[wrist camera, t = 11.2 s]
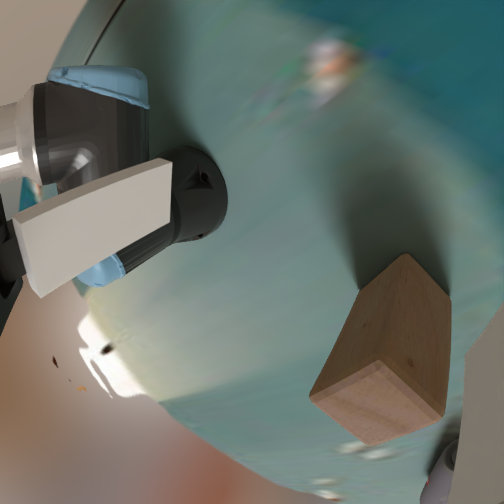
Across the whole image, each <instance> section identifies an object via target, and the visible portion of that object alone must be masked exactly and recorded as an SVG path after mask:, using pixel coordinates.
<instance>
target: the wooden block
mask: <svg viewBox="0 0 504 504" xmlns="http://www.w3.org/2000/svg"><path fill="white" fill-rule="evenodd" d="M450 352H451V300H450V297H449V296H448V295H447V294H446V293H445V292H444V291H443V289H442V288H441V287H440V286H439V285H438V284H437V283H436V282H435V281H434V280H433V279H432V278H431V276H430V275H429V274H428V273H427V272H426V271H425V270H424V269H423V268H422V267H421V266H420V265H419V264H418V263H417V262H416V261H415V260H414V259H413V258H412V257H411V256H410V255H409V254H407V253H405V254H403V255H400V256H399V257H398V258H397V259H396V260H395V261H394V262H392V263H391V264H390V265H389V266H388V267H387V268H386V269H385V270H383V271H382V272H381V273H380V274H379V275H378V276H377V277H375V278H374V279H373V280H372V281H371V282H370V283H369V284H367V285H366V286H365V287H364V288H363V289H361V290H360V291H359V293H358V295H357V297H356V300H355V302H354V304H353V306H352V309H351V311H350V313H349V315H348V317H347V320H346V322H345V324H344V326H343V328H342V330H341V332H340V335H339V337H338V339H337V341H336V343H335V345H334V347H333V349H332V351H331V353H330V355H329V357H328V359H327V361H326V363H325V365H324V367H323V369H322V371H321V373H320V375H319V376H318V378H317V380H316V382H315V384H314V386H313V388H312V390H311V391H310V394H309V398H310V400H311V401H312V403H313V404H315V405H316V406H317V407H318V408H320V409H321V410H322V411H323V412H325V413H326V414H327V415H328V416H330V417H331V418H332V419H333V420H335V421H336V422H337V423H339V424H340V425H341V426H342V427H344V428H345V429H346V430H348V431H349V432H350V433H352V434H353V435H354V436H355V437H357V438H358V439H359V440H361V441H362V442H363V443H365V444H368V445H377V444H380V443H383V442H386V441H389V440H392V439H395V438H398V437H400V436H403V435H406V434H409V433H411V432H414V431H416V430H419V429H422V428H424V427H426V426H429V425H431V424H434V423H436V422H438V421H439V420H440V419H441V418H442V417H443V415H444V413H445V407H446V399H447V390H448V380H449V368H450Z"/></svg>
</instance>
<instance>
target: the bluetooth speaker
mask: <svg viewBox="0 0 504 504" xmlns="http://www.w3.org/2000/svg"><path fill="white" fill-rule="evenodd" d="M458 443H459V438H458V439H455V440H454V441H452V442H451V443H450V444H449V445H448V446H447V447H446V448H445V450H444V451H443V453H442V454H441V456H440V458H439V459H438V461H437V463H436V465H435V466H434V468H433V470H432V472H431V474H430V475H429V477H428V479H427V482H426V484H425V486H424V488H423V490H422V493H421V496H420V504H447V500H448V496H449V492H450V487H451V483H452V478H453V473H454V468H455V462H456V456H457V450H458Z"/></svg>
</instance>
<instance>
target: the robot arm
mask: <svg viewBox="0 0 504 504" xmlns="http://www.w3.org/2000/svg"><path fill="white" fill-rule="evenodd" d="M47 80H48V81H49V82H45V83H40V84H35V85H32V86H31V88H30V89H29V90H28V92H27V93H26V94H25V95H24V97H23V98H22V99H21V100H20V101H18V102H15V103H11V104H7V105H4V106H0V183H2V182H6V181H9V180H13V179H16V178H20V177H24V176H26V177H29V178H30V179H32V180H33V181H34V182H36V183H37V184H38V185H40V186H43V185H48V184H52V183H56V184H57V190H58V195H57V196H54V197H52V198H50V199H47V200H45V201H43V202H41V203H38V204H36V205H34V206H32V207H30V208H27V209H25V210H23V211H21V212H19V213H17V214H15V215H13V216H12V219H11V220H9V221H7V222H6V218H5V213H4V208H3V203H2V198H1V194H0V336H1V334H2V331H3V329H4V326H5V324H6V321H7V319H8V317H9V314H10V312H11V310H12V308H13V305H14V303H15V301H16V299H17V297H18V294H19V292H20V290H21V288H22V285H23V280H22V276H23V275H25V274H26V273H27V277H28V280H29V283H30V286H31V288H32V289H33V290H34V291H35V292H36V294H37V295H38V296H39V297H40V298H42V297H43V296H45V295H47V294H48V293H50V292H51V291H53V290H55V289H56V288H58V287H59V286H61V285H63V284H64V283H66V282H67V281H69V280H71V279H72V278H74V277H77V278H78V279H79V280H81V281H82V282H83V283H85V284H87V285H89V286H92V287H103V286H105V285H107V284H109V283H111V282H113V281H114V280H116V279H118V278H122V277H124V276H125V275H126V274H127V273H129V272H130V271H132V270H133V269H135V268H136V267H138V266H139V265H141V264H142V263H144V262H145V261H147V260H148V259H150V258H151V257H153V256H154V255H156V254H157V253H159V252H160V251H162V250H163V249H165V248H166V247H168V246H170V245H171V244H174V243H180V242H187V241H193V240H199V239H202V238H204V237H206V236H207V235H209V234H210V233H212V232H214V231H215V230H216V229H217V228H218V227H219V226H220V225H221V223H222V222H223V220H224V217H225V215H226V211H227V201H228V200H227V190H226V186H225V183H224V180H223V177H222V175H221V173H220V171H219V169H218V168H217V166H216V165H215V164H214V162H213V161H212V160H211V159H210V158H209V157H208V156H207V155H206V154H204V153H203V152H201V151H199V150H198V149H195V148H192V147H188V146H180V147H175V148H172V149H168V150H166V151H164V152H162V153H160V154H159V155H158V156H157V157H156V158H155V159H154V160H151V161H149V119H148V112H149V110H150V105H149V104H148V81H147V78H146V76H145V74H144V73H143V72H142V71H140V70H138V69H135V68H130V67H121V66H104V65H82V66H72V67H71V66H69V67H57V68H53V69H51V70H50V71H49V74H48V76H47ZM447 504H504V302H503V303H502V305H501V306H500V308H499V309H498V311H497V312H496V314H495V315H494V317H493V318H492V320H491V321H490V322H489V324H488V325H487V327H486V328H485V329H484V331H483V332H482V334H481V335H480V336H479V338H478V339H477V340H476V342H475V343H474V344H473V346H472V347H471V348H470V350H469V351H468V352H467V353H466V355H465V373H464V394H463V407H462V418H461V427H460V435H459V443H458V450H457V456H456V462H455V468H454V473H453V478H452V483H451V487H450V492H449V496H448V500H447Z"/></svg>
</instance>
